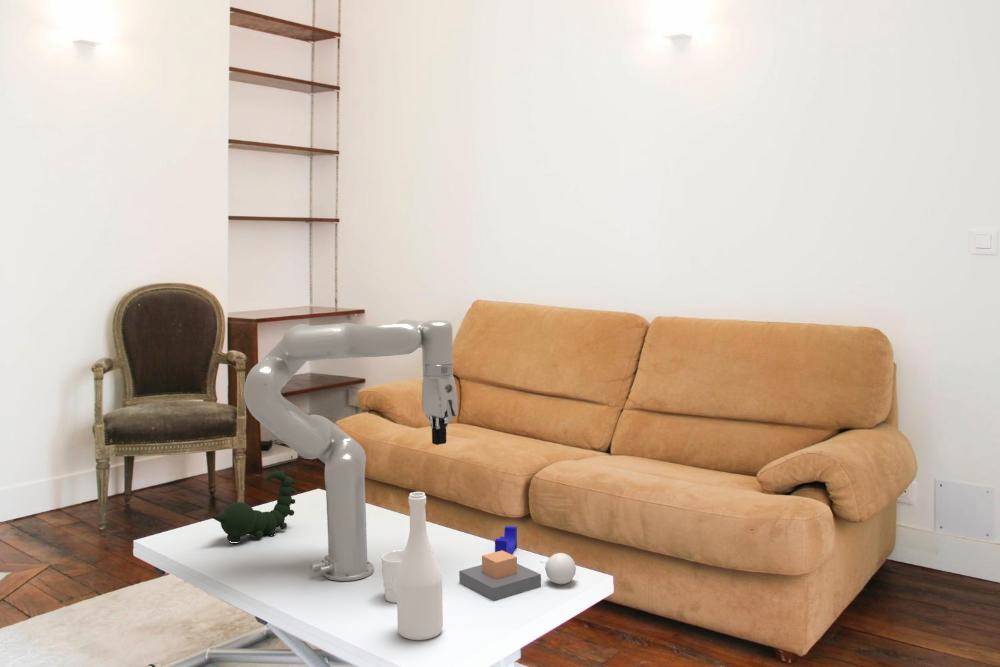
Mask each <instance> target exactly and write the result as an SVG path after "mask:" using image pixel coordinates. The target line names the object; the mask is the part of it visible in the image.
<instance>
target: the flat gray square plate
mask: <svg viewBox="0 0 1000 667" xmlns="http://www.w3.org/2000/svg"><path fill="white" fill-rule="evenodd" d="M458 573H459V574H458V576H459V578H458V579H459V584H460V585H463V586H465V587H466V588H469V589H470V590H472V591H474V592H476V593H478V594H480V595H481V596H484V597H485V598H487V599H489V600H491V601H497V600H501V599H504V598H507V597H510V596H514V595H518V594H520V593H525V592H528V591H530V590H534V589H537V588H541V587H542V574H541V573H540V572H537V571H534V570H532V569H530V568H528V567H526V566H523V565H521V564H520V563H517V574H513V575H509V576H506V577H502V578H499V579H496V578H494V577H492V576H490V575H488V574H486V573H484V572H482V564H480V565H479V564H478V565H476V566H472V567H468V568H465V569H462V570H459V571H458Z"/></svg>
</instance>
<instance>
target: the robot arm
mask: <svg viewBox="0 0 1000 667" xmlns="http://www.w3.org/2000/svg"><path fill="white" fill-rule="evenodd" d="M453 343H454V342H453V325H452V323H451V322H450V321H448V320H443V319H442V320H440V319H439V320H427V321H422V320H413V319H403V320H399V321H397V322H396V323H395V324H383V325H382V324H380V325H362V324H361V325H360V324H357V323H352V322H343V323H330V324H317V325H309V324H306V323H305V324H304V323H299V324H296V325H294V326H292V327H290V328H289V329H288V330H286V331H285V333H283V336H282V339H281V340H280V341H279V342H277V343H276V345H275V346H273V348H272V349H271V350H270V351H269V352H267V354H266V355H265V356H264V358H262V360H260V361H259V362H258V363H256V364H255V365H254V366H252V368H251V369H250V370H249V371H248V374H247V375H246V379H245V383H244V388H243V398H244V402H245V406H246V407H247V410H248V411H249V413H250V414H251V416H252V417H254V419H255V420H257V421H258V422H259V423H260V424H261V425H263V427H265V428H266V429H268V430H269V432H271V433H272V434H274V435H275V437H277V438H278V439H280V440H281V441H282V442H283V443H284V444H286V445H287V446H289V447H290V448H291V449H292V450H293V451H294V452H296V453H297V455H300V456H301V457H302V458H305V459H309V460H314V459H318V460H319V461H321V462H322V463H323V464H325V465H324V485H325V500H326V517H327V518H326V520H327V525H326V526H327V544H328V545H327V547H328V548H327V549H328V553H327V554H328V555H324V559H323V560H321V561H320V562H314V563H311V564H310V565H309V568H310V572H312V573H315V572H318V571H319V572H320V573H322V575H323V576H324V577H325V578H326V579H328V580H331V581H338V582H350V581H357V580H362V579H364V578H367V577H369V576H370V575H372V574H373V573H374V570H375V569H374V568H375V566H374V564H373V563H371V562H370V561H368V541H367V540H368V539H367V511H366V509H367V508H366V503H367V502H366V485H365V484H366V483H365V480H366V479H365V474H366V473H365V471H366V464H367V455H366V454H367V453H366V451H365V449H364V448H363V447H362V445H361V444H360V443H359V442H358V441H356V440H355V439H354V438H353V437H351V436H350V435H349V434H348V433H346V432H345V431H344V430H342V428H341V427H339V426H338V425H336V424H335V423H334V422H333V421H331V420H330V419H328V418H327V417H325V416H323V415H320V414H306V412H304V411H303V410H301V409H300V408H299V407H298V406H297V405H295V404H294V403H293V402H292V401H290V400H288V399H286V398H285V397H284V396H283V395H282V393H281V391H282V389H283V388H284V387H285V385H286V384H287V383H289V381H290V380H291V379H292V378H293V377H294V376H295V375H296V373H298V372H299V370H300V369H302V368H303V366H304V365H305V364H306V363H307V362H311V361H321V360H322V361H323V360H334V359H349V358H352V359H358V358H372V357H373V358H377V357H391V356H392V357H393V356H402V355H403V356H405V355H409V354H413V353H414V352H415V351H417V350H418V349H420V348H421V356H422V357H421V358H422V363H421V364H422V383H421V384H422V385H421V408H422V409H421V410H422V412H423V413H424V414H425V418H427V419H428V420H429V424H430V428H431V444H433V445H436V446H439V445H446V444H447V428H448V424H451V423H453V421H454V419H453V417H457V415H458V412H459V411H458V410H459V408H458V406H459V405H458V393H457V386H456V381H455V377H454V351H453V349H454V348H453V347H454V346H453Z"/></svg>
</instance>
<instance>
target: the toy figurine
mask: <svg viewBox="0 0 1000 667" xmlns="http://www.w3.org/2000/svg"><path fill="white" fill-rule="evenodd" d="M271 479H276V480H278V481H280V487H279V489H278V493H279V495H278V496H277V498H276V503H275V505H274V507H273V509H272V510H270V511H263V512H262V511H261V510H256V509H254V508H253V507H252V506H251V505H249V504H248V503H246V502H241V501H237V502H233V503H231V504H229V505H228V506H226V507H225V508H224V509H223V511H222V512H221V513H218V514H216V515H213V516H211V517H212V519H213V520H215V521H216V522H219V523H220V527H221V529H222V531H223V532H224V533H225V534H227V536H226V539H227V541H228V540H229V541H231V542H238V541H240V542H241V539H242V537H245V536H248V535H247V534H250V535H249V536H253V538H255V539H257V538H259V539H262V538H263V536H264V534H265V533H266V535H267V533H268V536H269V535H274V534H275V535H276V533H277V531H276V529H277V528H280V530H286V529H287V527H288V525H287V523H286V522H285V520H286V518H287V517H288V516H290V517H292V516H294V515H295V511H294V510H293V509H291V505H294V504H295V503H296V499H294V498H292V495H293V494H296V488H293V485H295V484H296V480H294V479H293V478H292V477H290V476H286V474H285V472H284V471H282V470H274V471H271V472H270V473H269V474H267V477H266V481H268V482H269V481H270V480H271ZM275 535H274V536H275ZM229 541H228V542H229Z"/></svg>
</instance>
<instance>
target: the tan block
mask: <svg viewBox="0 0 1000 667" xmlns="http://www.w3.org/2000/svg"><path fill="white" fill-rule="evenodd" d="M517 564H518V556H515V555H514V554H513V555H511V554H509V553H507V552H505V551H498V552H495V551H494V552H491V553H487V554H483V555H481V565H482V572H484V573H486V574H488V575H490V576H492V577H494V578H496V579H499V578H502V577H506V576H509V575H513V574H517Z"/></svg>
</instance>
